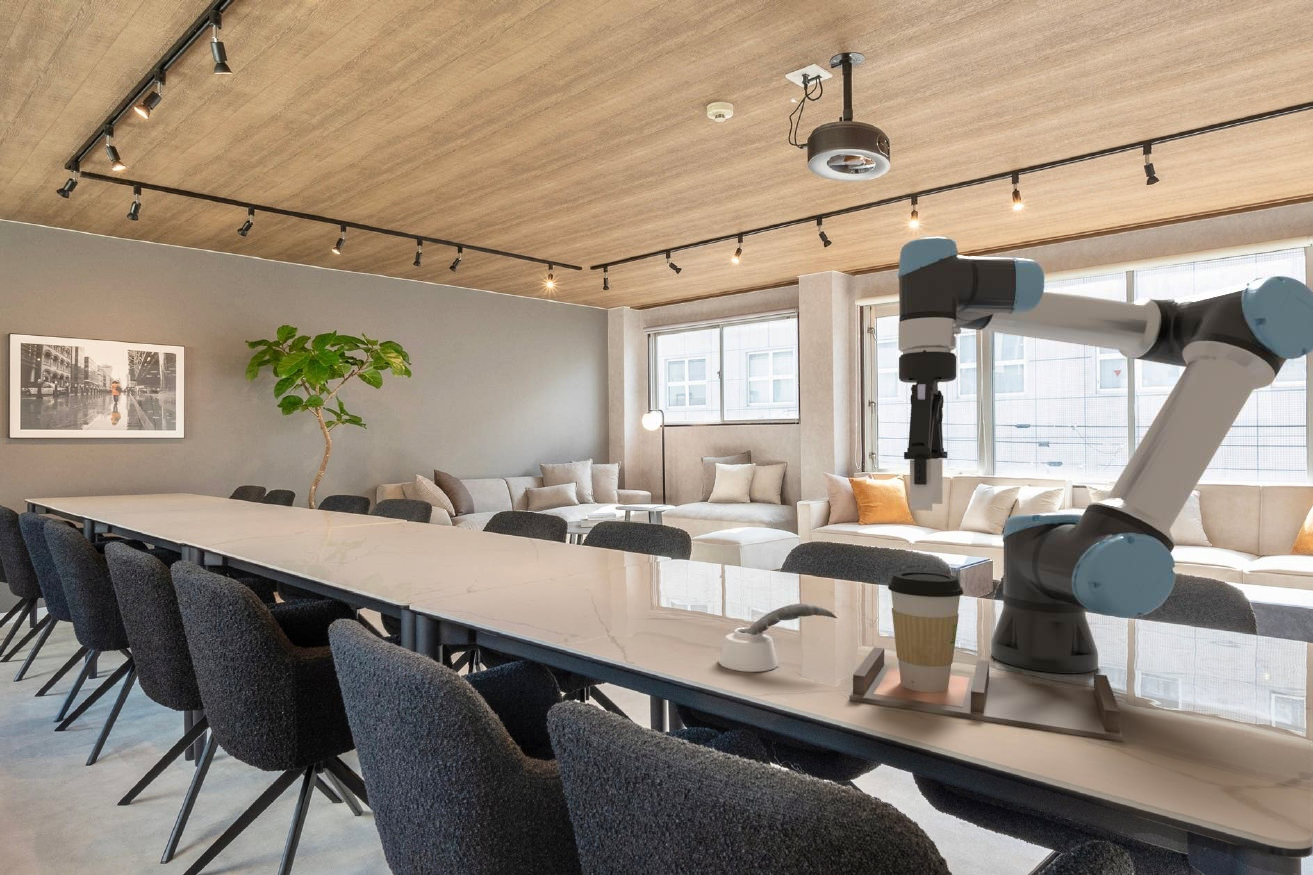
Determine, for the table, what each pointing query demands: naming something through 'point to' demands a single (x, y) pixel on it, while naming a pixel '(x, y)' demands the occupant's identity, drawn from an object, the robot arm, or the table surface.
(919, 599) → the coffee cup
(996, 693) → the slot rack
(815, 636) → the table surface
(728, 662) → the inkwell
